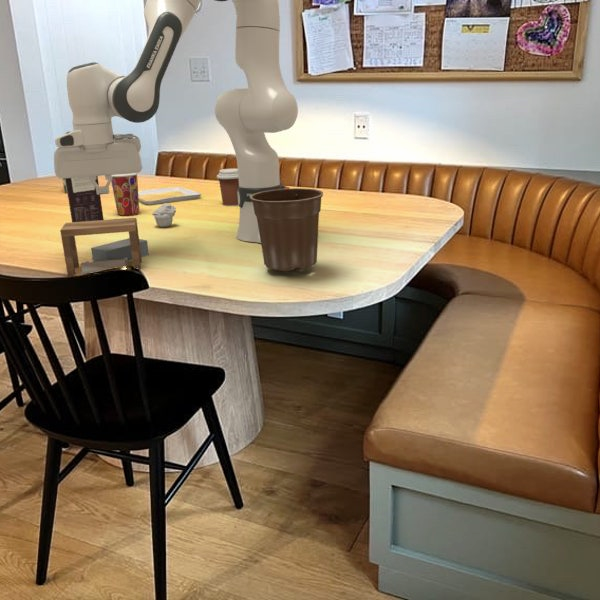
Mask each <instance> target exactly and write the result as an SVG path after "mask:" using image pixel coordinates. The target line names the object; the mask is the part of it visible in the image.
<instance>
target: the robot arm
mask: <svg viewBox="0 0 600 600" xmlns="http://www.w3.org/2000/svg"><path fill="white" fill-rule="evenodd" d="M201 1H202V0H146V2H145V7H144V11H143V16H144V19H145V22H146V24H147V26H148V34H147V35H148V36H147V38H146V42H145V44H144V46H143V48H142V50H141V53H140V55H139V57H138V60H137V62H136V65H135V67H134V68H133V69H132V70H131V72H130V73H129V74H128V75H124V74H120V73H117V72H114V71H112V70H110V69H109V68H106V67H105V66H103V65H101V64H100V63H99V62H87V63H83V64H78V65H76V66H73V67H72V68H70V69H69V70H68V72H67V74H66V89H67V90H66V91H67V98H68V105H69V107H70V110H71V112H72V131H67V132H65V133H64V134H62V135H59V136H57V137H55V139H54V142H55V147H57V148H56V149H55V151H54V154H53V166H54V173H55V176H56V177H57V178H58V179H60V180H61V179H64V178H77V177H89V179H90V182H91V183H92V184H93V186H94V187H95V188H96V192H97V195H100V196H101V195H109V194H110V184H111V183H112V182H111V180H112V175H116V174H128V173H137V174H138V173H141V171H142V170H143V164H142V159H141V155H140V151H141V147H142V146H141V140H140V138H139V137H138V136H137V135H135V134H134V135H133V133H125V134H121V133H120V134H119V133H118V134H114V131H113V130H114V129H113V124H112V122H113V121H112V118H114V117H117V118H121V119H123V120H124V119H125V120H127V121H128V122H132V123H136V124H139V123H144V122H147V121H149V120H150V119H152V118H153V117H154V116H155V114H157V112H158V109H159V106H160V97H161V95H160V94H161V85H162V81H163V78H164V77H165V74H166V72H167V69H168V68H169V67H168V66H169V64H170V62H171V59H172V57H173V56H174V53H175V51H176V47H177V46H178V44H179V42H180V41H181V39H182V37H183V35H184V33H185V32H186V30H187V28H188V26H189V25H190V23H191V21H192V20H193V17H194V15H195V14H196V12H197V10H198V7H199V5H200V2H201ZM214 1H216V2H226V1H228V0H214ZM231 2H232V3H233V5H234V8H235V14H236V21H235V57H234V58H235V63H236V65H237V66H238V67H239V69H241V71H243V73H244V75H245V78H246V82H247V88H235V89H230V90H228V91H225V92H223V93H222V94H220V95H219V96H218V98H217V99H216V102H215V104H214V114H215V118H216V120H217V123H218V124H219V125H220V126H221V127H222V128H223V129H224V130H225V132H226V133H227V135H228V138H229V139H230V142H231V145H232V147H233V150H234V153H235V157H236V158H235V159H236V166H237V169H238V177H239V186H238V191H237V193H238V205H239V206H238V207H239V220H238V228H237V233H236V238H237V240H240V241H244V242H249V243H250V242H252V243H257V244H261V240H260V234H259V228H258V222H257V217H256V215H255V213H254V207H253V202H252V200H251V199H250V196H251V195H253V194H255V193H258V192H263V191H268V190H277V189H291V188H290V187H289V186H286V185H284V184H282V183H281V178H280V162H279V161H280V160H279V159H280V157H279V155H278V153H277V152H276V150H275V149H274V148H273V147H271V145H270V144H269V141H268V140H267V137H266V134H269V133H270V134H275V133H280V132H283V131H286V130H289V129H291V128H292V127H293V126H294V124H296V123H295V122H296V121H297V117H298V112H299V108H298V103H297V99H296V98H295V96H294V95H293V94H292V93H291V92H290V90H289V88H288V87H287V86H286V84H285V82H284V80H283V79H284V78H283V76H282V72H281V66H280V26H281V24H280V23H281V22H280V21H281V20H280V19H281V18H280V17H281V15H280V4H279V0H231ZM96 176H98V177H100V176H101V177H103V176H104V177H105V180H106V184H105V185H100V184H99V185H98V184H97V183H96V181H95V180H96V179H97V178H96Z"/></svg>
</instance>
